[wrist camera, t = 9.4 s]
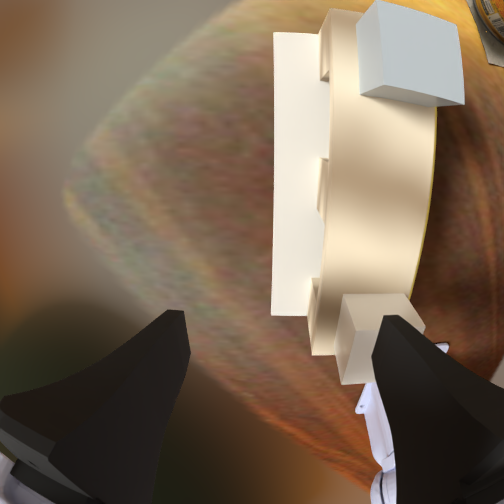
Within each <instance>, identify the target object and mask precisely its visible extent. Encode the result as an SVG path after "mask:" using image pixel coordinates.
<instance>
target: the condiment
mask: <svg viewBox="0 0 504 504" xmlns="http://www.w3.org/2000/svg"><path fill="white" fill-rule="evenodd" d="M466 1H467V3H468V6H469V7H470V11H471V13H472V15H473V17H474V20H475V22H476V24H477V27H478V31H479V33H480V37H481V40H482V43H483V46H484V48H485V51H486V55H487V59H488V63H491V64H495V65H499V66H502V67H504V0H466ZM486 31H487V33H486Z"/></svg>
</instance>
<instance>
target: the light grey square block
mask: <svg viewBox="0 0 504 504" xmlns="http://www.w3.org/2000/svg"><path fill="white" fill-rule="evenodd" d="M356 34H357V47H358V65H359V95H366V96H373V97H379V98H386V99H391V100H397V101H402V102H407V103H412V104H417V105H421V106H425V107H437V106H451V105H465V103H464V81H463V69H462V59H461V50H460V43H459V37H458V31H457V25H456V24H453V23H451V22H448V21H446V20H443V19H440V18H438V17H435V16H432V15H429V14H426V13H423V12H420V11H417V10H414V9H411V8H407V7H404V6H400V5H396V4H393V3H389V2H384V1H380V0H375V1H374V3H373V4H372V5H371V6H370V8H369V9H368V10H367V11H366V12H365V14H364V15H363V16H362V17H361V19H360V20H359V21H358V22H357V24H356Z"/></svg>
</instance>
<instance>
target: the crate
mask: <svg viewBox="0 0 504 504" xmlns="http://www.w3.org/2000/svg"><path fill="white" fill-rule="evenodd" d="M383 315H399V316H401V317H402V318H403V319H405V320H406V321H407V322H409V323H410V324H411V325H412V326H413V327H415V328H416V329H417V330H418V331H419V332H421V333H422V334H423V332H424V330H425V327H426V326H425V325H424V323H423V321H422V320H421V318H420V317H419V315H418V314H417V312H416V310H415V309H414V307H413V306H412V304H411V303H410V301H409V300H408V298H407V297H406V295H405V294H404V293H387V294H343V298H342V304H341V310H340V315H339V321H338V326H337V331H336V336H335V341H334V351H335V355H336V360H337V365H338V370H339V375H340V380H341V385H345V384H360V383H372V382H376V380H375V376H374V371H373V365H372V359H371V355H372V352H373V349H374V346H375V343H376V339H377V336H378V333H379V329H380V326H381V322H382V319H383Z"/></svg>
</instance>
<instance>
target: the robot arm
mask: <svg viewBox="0 0 504 504" xmlns="http://www.w3.org/2000/svg"><path fill="white" fill-rule="evenodd" d="M448 348H449V345H448V344H447V343H440V344H434V343H432V342H431V341H430V340H429V339H428V338H426V337H425V336H424V335H423V334H422V333H421V332H419V331H418V330H417V329H416V328H415V327H413V326H412V325H411V324H410V323H409V322H407V321H406V320H405V319H403V318H402V317H401V316H399V315H383V319H382V322H381V326H380V329H379V333H378V336H377V339H376V343H375V346H374V349H373V352H372V355H371V359H372V365H373V371H374V376H375V380H376V382H372V383H366V384H365V387H364V389H363V392H362V394H361V397H360V399H359V402H358V404H357V407H356V409H355V412H356V413H357V414H362V413H364V415H365V419H366V424H367V429H368V433H369V438H370V443H371V448H372V453H373V456H374V458H375V460H376V461H377V462H378V463H379V464H380V465H381V466H382V469H383V470H382V471H380V472H378V473H377V474H376V476H375V478H374V481H373V483H372V486H371V503H372V504H504V389H503V388H501V387H499V386H497V385H495V384H493V383H491V382H489V381H487V380H485V379H483V378H482V377H480V376H478V375H477V374H475V373H473V372H472V371H470V370H469V369H467V368H465V367H464V366H463V365H461V364H460V363H458V362H457V361H455V360H454V359H453V358H451V357H450V356H449V355H447V354H446V352H447V350H448ZM190 354H191V351H190V346H189V340H188V334H187V328H186V322H185V316H184V311H180V310H167V311H165V312H164V313H163V314H161V315H160V316H159V317H158V318H156V319H155V320H154V321H153V322H151V323H150V324H149V325H148V326H146V327H145V328H144V329H143V330H141V331H140V332H139V333H138V334H136V335H135V336H134V337H133V338H131V339H130V340H129V341H127V342H126V343H124V344H123V345H122V346H120V347H119V348H117V349H116V350H114V351H113V352H112V353H110V354H109V355H107V356H106V357H104V358H102V359H101V360H99V361H98V362H96V363H94V364H92V365H91V366H89V367H87V368H85V369H84V370H81V371H79V372H77V373H75V374H73V375H70V376H68V377H66V378H64V379H62V380H59V381H57V382H54V383H52V384H49V385H46V386H43V387H40V388H37V389H33V390H30V391H25V392H22V393H17V394H12V395H7V396H4V397H3V398H2V400H1V401H0V441H1V442H2V443H3V444H4V445H5V446H6V447H7V448H8V449H9V450H10V451H11V452H12V453H13V454H14V455H15V456H16V457H17V458H18V459H17V461H16V463H14V462H12V461H11V460H10V459H9V458H7V457H6V456H5V455H3V454H2V453H0V504H152V496H153V488H154V482H155V475H156V469H157V465H158V459H159V454H160V450H161V446H162V441H163V437H164V433H165V430H166V426H167V423H168V420H169V418H170V415H171V413H172V410H173V407H174V405H175V402H176V399H177V397H178V394H179V392H180V389H181V386H182V384H183V381H184V378H185V375H186V371H187V367H188V363H189V358H190Z"/></svg>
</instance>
